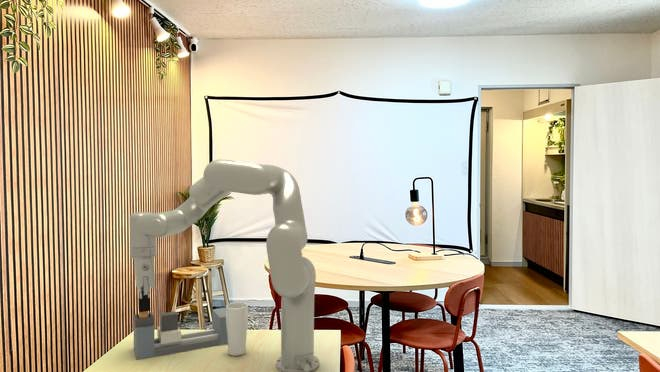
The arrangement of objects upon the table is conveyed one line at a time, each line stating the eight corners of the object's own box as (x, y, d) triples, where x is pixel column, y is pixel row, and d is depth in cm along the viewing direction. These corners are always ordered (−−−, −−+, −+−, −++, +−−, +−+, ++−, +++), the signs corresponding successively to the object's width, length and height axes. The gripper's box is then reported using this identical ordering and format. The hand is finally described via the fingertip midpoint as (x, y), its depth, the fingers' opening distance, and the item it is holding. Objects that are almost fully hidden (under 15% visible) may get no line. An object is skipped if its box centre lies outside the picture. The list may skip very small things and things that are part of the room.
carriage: (176, 333, 149) (176, 309, 148) (181, 341, 142) (181, 315, 141) (157, 336, 146) (157, 311, 146) (161, 344, 139) (160, 318, 139)
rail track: (226, 333, 158) (226, 300, 157) (234, 342, 149) (234, 307, 149) (133, 348, 143) (132, 312, 143) (136, 359, 135) (135, 321, 134)
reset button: (148, 320, 142) (147, 310, 142) (149, 322, 139) (149, 313, 139) (138, 321, 141) (138, 312, 141) (139, 324, 138) (139, 314, 138)
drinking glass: (242, 358, 136) (242, 309, 136) (222, 356, 137) (221, 307, 137) (251, 349, 143) (251, 302, 142) (231, 348, 144) (231, 301, 144)
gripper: (159, 254, 135) (160, 315, 135) (153, 247, 148) (154, 303, 148) (132, 256, 131) (133, 319, 132) (128, 249, 144) (129, 306, 145)
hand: (144, 310), depth 140 cm, fingers closed
